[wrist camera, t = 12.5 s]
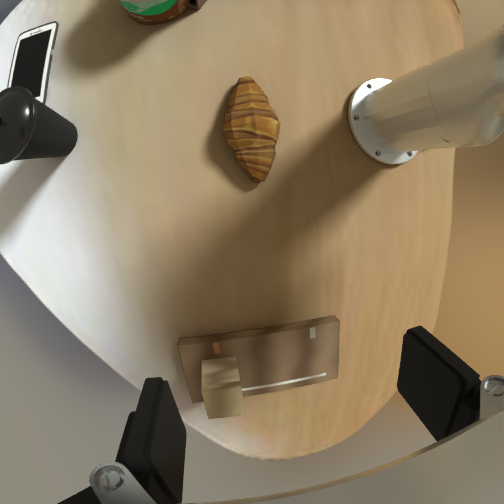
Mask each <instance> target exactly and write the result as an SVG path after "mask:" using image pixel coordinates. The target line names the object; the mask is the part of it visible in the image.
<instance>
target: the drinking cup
mask: <svg viewBox="0 0 504 504" xmlns="http://www.w3.org/2000/svg"><path fill="white" fill-rule="evenodd" d="M77 136H78V134H77V129H76V127H75V126H74V125H73V124H72V123H71V122H70V121H68V120H67V119H65V118H64V117H62V116H61V115H59V114H58V113H56V112H55V111H53V110H52V109H50V108H49V107H47V106H46V105H45V104H43V103H42V102H40V101H39V100H37V99H36V98H34V97H33V95H32V94H31V92H30V91H29V90H27V89H26V88H23V87H21V86H13V87H9V88H7V89H5V90H3V91H1V92H0V164H6V163H9V162H11V161H12V160H22V159H34V158H47V157H62V156H65V155H67V154H69V153H70V152H71V151H72V150H73V148H74V147H75V145H76V142H77Z"/></svg>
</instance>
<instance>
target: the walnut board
mask: <svg viewBox="0 0 504 504" xmlns="http://www.w3.org/2000/svg"><path fill="white" fill-rule="evenodd" d="M339 325H340V321H339V320H338V319H337V318H336V316H335V315H333V316H328V317H322V318H317V319H312V320H307V321H301V322H295V323H290V324H284V325H278V326H272V327H265V328H259V329H252V330H246V331H239V332H232V333H224V334H216V335H208V336H200V337H192V338H182V339H179V343H178V348H179V352H180V356H181V360H182V364H183V368H184V372H185V376H186V380H187V384H188V388H189V391H190V395H191V399H192V402H193V403H194V402H204V400H203V396H202V360H210V359H218V358H226V357H233V356H236V360H237V366H238V372H239V377H240V383H241V389H242V395H243V397H245V396H251V395H257V394H264V393H269V392H275V391H281V390H286V389H291V388H296V387H301V386H305V385H310V384H315V383H319V382H323V381H327V380H332V379H336V378H338V363H339Z"/></svg>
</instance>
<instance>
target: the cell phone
mask: <svg viewBox="0 0 504 504" xmlns="http://www.w3.org/2000/svg"><path fill="white" fill-rule="evenodd" d="M58 25H59V24H58V22H56V21H54V22H50V23H47V24H44V25H41V26H38V27H36V28H33V29H30V30H27V31H25V32H23V33H21V34H20V35H19V37H18V39H17V43H16V47H15V51H14V55H13V58H14V59H13V60H12V65H11V70H10V75H9V81H8V87H7V88H9V87H13V86H21V87H23V88H26V89H27V90H29V91H30V92H31V94H32V95H33V97H34V98H36V99H37V100H39V101H40V102H42V103H43V104H45V102H46V96H47V88H48V80H49V73H50V67H51V61H52V52H53V49H54V45H55V40H56V35H57V31H58Z"/></svg>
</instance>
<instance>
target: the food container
mask: <svg viewBox="0 0 504 504" xmlns="http://www.w3.org/2000/svg"><path fill="white" fill-rule="evenodd" d="M119 1H120V2H121V4H122V5H123V7H124V8H125V9H126V11H127V12H128V14H129V15H130V17H131V18H132V19H133V20H135V21H136V22H138V23H141V24H145V25H157V24H162V23H166V22H169V21H171V20H173V19H175V18H177V17H179V16H180V15H182V14H183V13H184V12H185V11H186V10H187V9H188V8H189V0H119Z"/></svg>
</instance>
